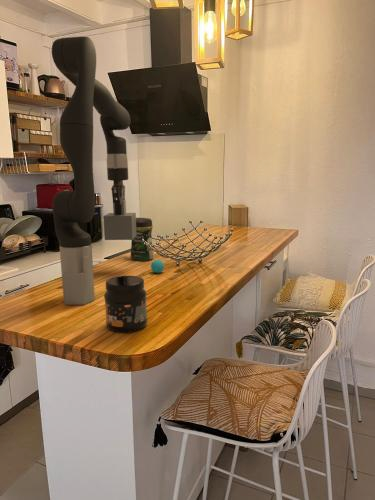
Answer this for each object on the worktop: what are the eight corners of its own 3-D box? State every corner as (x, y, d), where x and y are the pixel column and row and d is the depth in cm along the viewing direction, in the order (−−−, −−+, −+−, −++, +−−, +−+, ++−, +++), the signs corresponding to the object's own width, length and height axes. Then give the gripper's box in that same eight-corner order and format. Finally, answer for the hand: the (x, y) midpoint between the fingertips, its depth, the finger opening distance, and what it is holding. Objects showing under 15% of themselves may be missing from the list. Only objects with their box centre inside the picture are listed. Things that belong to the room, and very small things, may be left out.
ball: (163, 274, 149) (163, 261, 148) (150, 274, 149) (150, 261, 148) (164, 271, 154) (164, 258, 153) (151, 271, 154) (151, 258, 153)
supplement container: (97, 325, 101) (95, 280, 98) (131, 315, 108) (129, 272, 106) (122, 337, 93) (119, 289, 91) (156, 325, 101) (154, 280, 98)
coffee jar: (128, 260, 173) (126, 218, 169) (138, 256, 180) (136, 216, 176) (146, 262, 169) (145, 219, 165) (156, 258, 176) (155, 217, 172)
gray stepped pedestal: (132, 239, 144) (130, 201, 141) (104, 240, 144) (102, 202, 141) (136, 235, 154) (135, 199, 151) (110, 235, 154) (108, 200, 151)
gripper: (111, 167, 151) (113, 212, 154) (102, 167, 137) (105, 216, 140) (130, 166, 151) (132, 211, 154) (124, 166, 137) (126, 216, 140)
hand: (119, 213), depth 147 cm, fingers closed on gray stepped pedestal, 4 cm apart
